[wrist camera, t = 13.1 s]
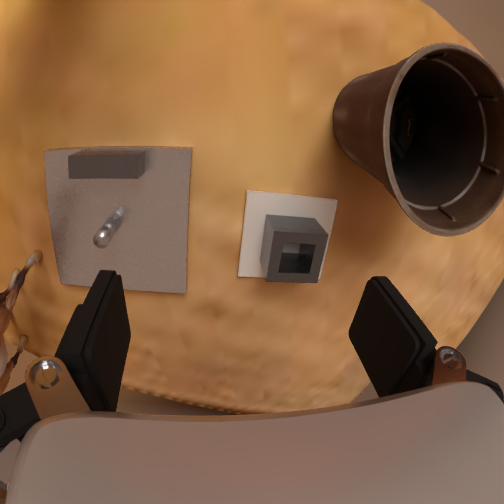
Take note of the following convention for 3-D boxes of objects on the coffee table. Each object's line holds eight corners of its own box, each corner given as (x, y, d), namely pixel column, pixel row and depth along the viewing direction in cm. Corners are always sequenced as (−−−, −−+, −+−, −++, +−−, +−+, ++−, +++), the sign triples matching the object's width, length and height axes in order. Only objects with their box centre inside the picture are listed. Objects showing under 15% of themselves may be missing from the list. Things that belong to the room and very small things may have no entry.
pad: (246, 190, 34) (247, 192, 34) (335, 199, 36) (337, 201, 35) (237, 273, 39) (238, 276, 39) (318, 276, 41) (319, 279, 40)
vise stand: (50, 149, 29) (24, 158, 23) (192, 147, 32) (187, 155, 26) (65, 278, 37) (48, 302, 31) (187, 287, 39) (183, 315, 34)
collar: (266, 214, 35) (273, 231, 31) (314, 218, 36) (328, 234, 32) (259, 259, 38) (265, 281, 33) (305, 261, 39) (317, 282, 34)
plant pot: (318, 191, 36) (383, 252, 21) (304, 58, 28) (373, 26, 14) (425, 179, 36) (508, 224, 22) (421, 64, 29) (514, 63, 14)
